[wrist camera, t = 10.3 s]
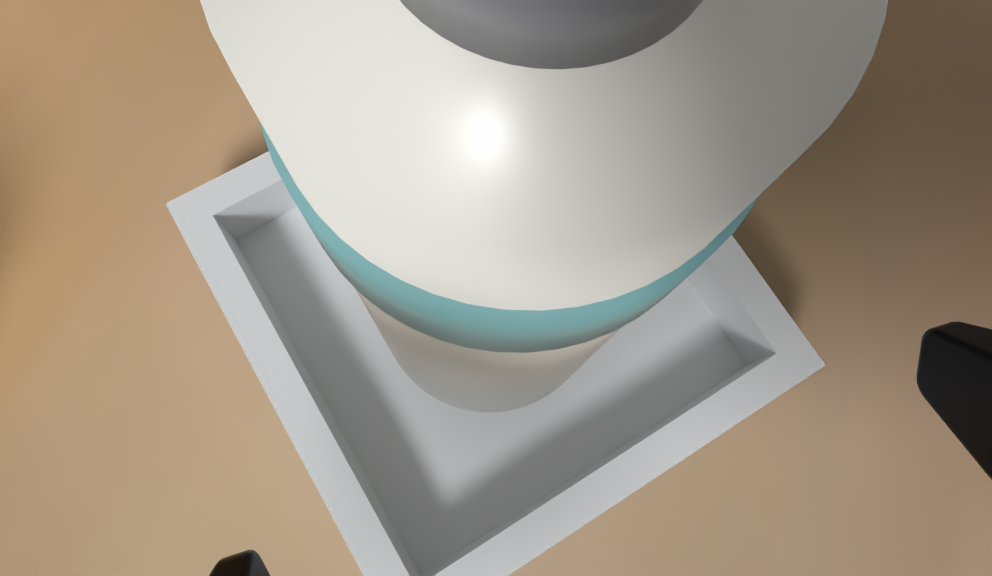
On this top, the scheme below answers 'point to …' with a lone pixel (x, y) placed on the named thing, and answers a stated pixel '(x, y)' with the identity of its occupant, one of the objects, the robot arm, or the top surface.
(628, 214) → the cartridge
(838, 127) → the top surface
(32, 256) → the top surface
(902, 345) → the top surface
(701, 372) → the tray
